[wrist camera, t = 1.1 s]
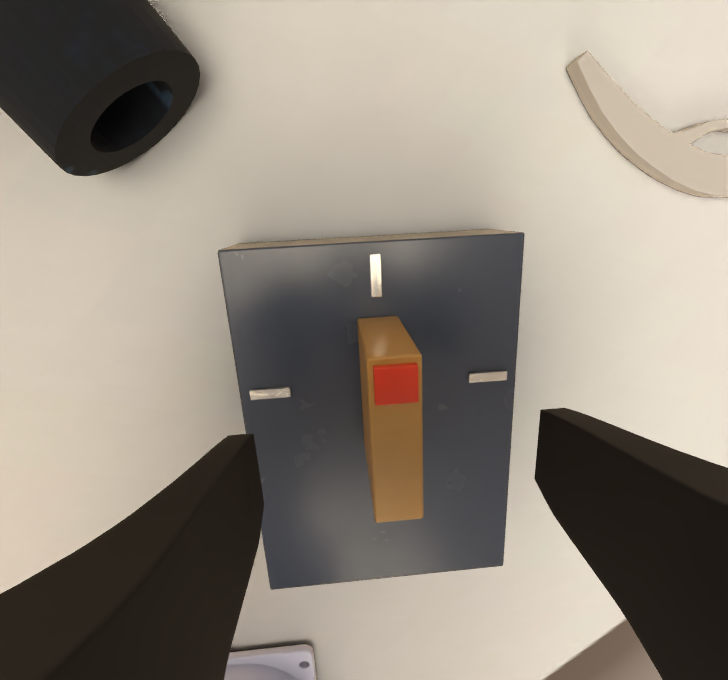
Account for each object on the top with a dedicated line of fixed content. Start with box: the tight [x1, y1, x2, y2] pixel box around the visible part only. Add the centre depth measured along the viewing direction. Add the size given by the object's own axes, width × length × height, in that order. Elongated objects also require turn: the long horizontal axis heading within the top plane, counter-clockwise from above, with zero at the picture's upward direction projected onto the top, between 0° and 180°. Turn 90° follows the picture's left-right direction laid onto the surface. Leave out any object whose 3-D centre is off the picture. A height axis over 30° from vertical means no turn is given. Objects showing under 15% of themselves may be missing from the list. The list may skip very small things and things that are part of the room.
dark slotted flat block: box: [218, 229, 524, 589], centre depth 17 cm, size 14×10×3 cm
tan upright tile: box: [357, 316, 423, 523], centre depth 13 cm, size 5×1×4 cm, turn 3°
